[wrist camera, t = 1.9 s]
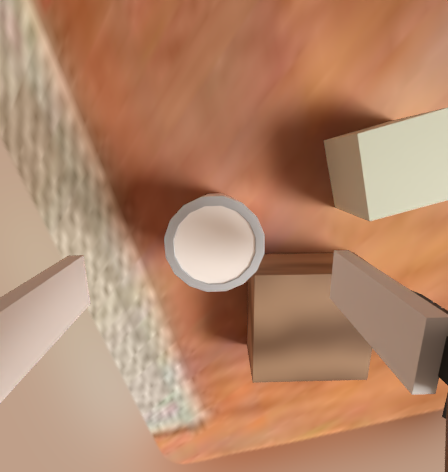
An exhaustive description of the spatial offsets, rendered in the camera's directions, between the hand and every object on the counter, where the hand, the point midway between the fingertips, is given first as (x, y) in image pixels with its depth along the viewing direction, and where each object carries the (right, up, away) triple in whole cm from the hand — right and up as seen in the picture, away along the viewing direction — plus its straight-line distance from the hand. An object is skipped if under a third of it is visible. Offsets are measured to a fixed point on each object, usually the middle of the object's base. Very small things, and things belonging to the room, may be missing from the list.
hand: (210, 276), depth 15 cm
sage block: (+13, +8, +10) cm, 18 cm away
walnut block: (+8, -4, +13) cm, 16 cm away
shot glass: (0, +3, +11) cm, 11 cm away
